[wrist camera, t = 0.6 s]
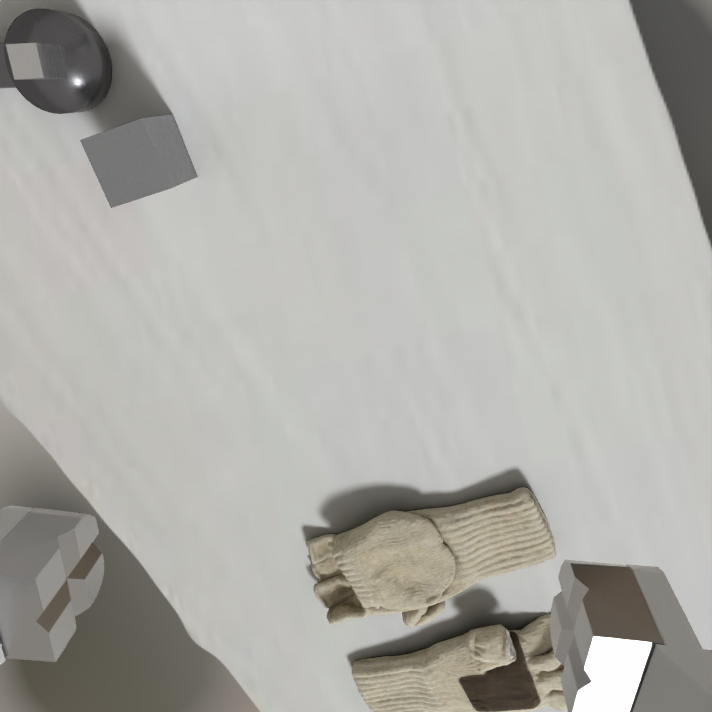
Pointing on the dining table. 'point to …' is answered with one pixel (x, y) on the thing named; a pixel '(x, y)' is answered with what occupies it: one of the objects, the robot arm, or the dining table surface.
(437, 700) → the pair of gloves
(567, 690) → the robot arm
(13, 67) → the ratchet
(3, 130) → the dining table surface
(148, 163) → the plain grey cube block
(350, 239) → the dining table surface
